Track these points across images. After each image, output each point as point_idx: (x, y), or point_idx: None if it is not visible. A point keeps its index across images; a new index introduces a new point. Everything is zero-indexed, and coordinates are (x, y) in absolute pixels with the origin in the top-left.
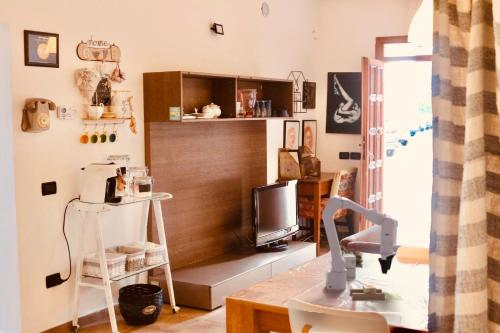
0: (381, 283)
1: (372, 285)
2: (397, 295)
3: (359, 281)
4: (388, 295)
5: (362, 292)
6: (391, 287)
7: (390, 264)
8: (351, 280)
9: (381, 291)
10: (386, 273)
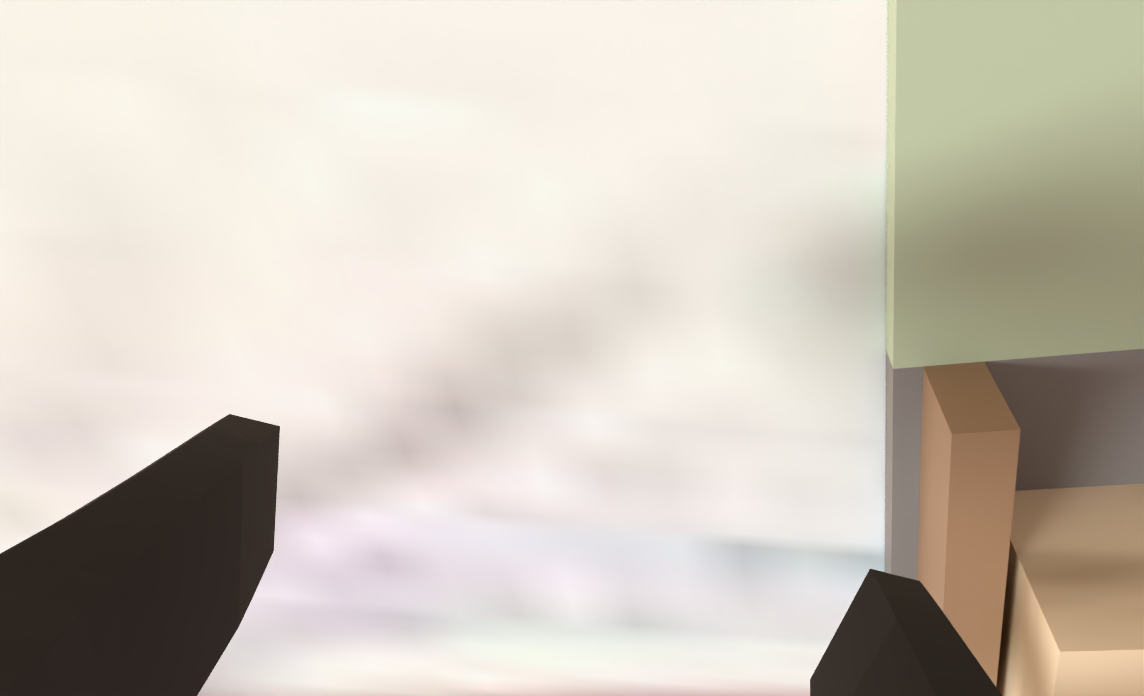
0: (19, 272)
1: (1092, 684)
2: (1072, 11)
3: None
4: (1054, 232)
5: None
6: (230, 89)
7: (149, 572)
8: None
9: (1006, 409)
10: (931, 603)
